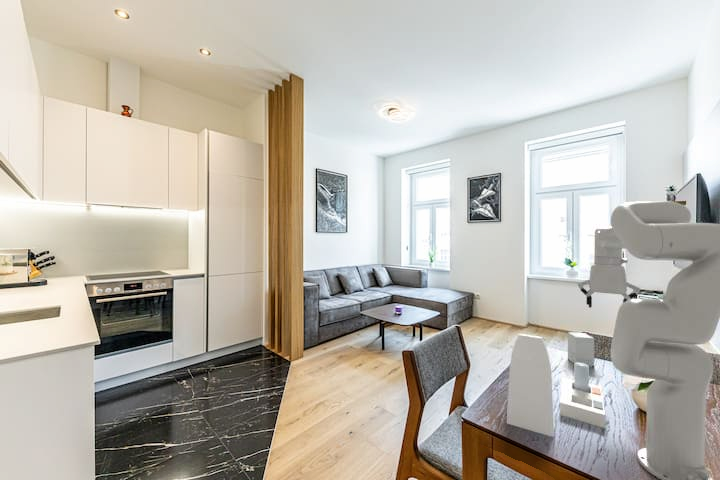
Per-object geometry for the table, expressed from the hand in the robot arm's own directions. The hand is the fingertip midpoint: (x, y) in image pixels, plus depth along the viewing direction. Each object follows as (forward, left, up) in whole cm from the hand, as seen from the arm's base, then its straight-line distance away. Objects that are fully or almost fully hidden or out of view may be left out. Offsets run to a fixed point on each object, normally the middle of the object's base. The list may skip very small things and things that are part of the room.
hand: (607, 308), depth 105 cm
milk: (-16, +37, -31) cm, 50 cm away
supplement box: (+24, -9, -31) cm, 40 cm away
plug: (-5, +12, -30) cm, 33 cm away
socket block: (-9, +15, -30) cm, 35 cm away
